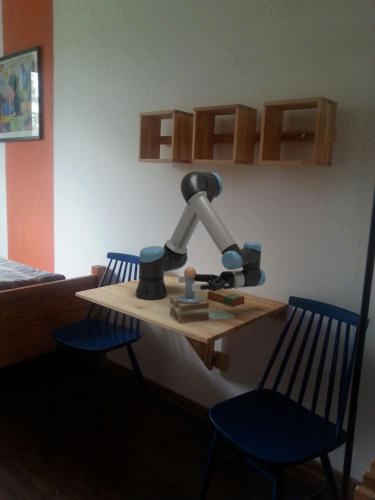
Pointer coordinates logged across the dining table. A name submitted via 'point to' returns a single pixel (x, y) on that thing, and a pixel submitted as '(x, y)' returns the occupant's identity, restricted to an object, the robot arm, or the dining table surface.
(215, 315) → the mat
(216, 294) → the carton
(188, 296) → the arcade joystick
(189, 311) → the box
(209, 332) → the dining table surface
